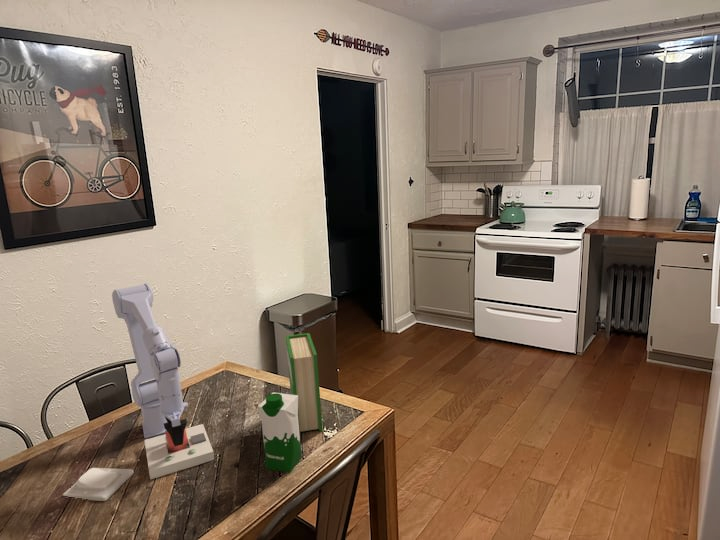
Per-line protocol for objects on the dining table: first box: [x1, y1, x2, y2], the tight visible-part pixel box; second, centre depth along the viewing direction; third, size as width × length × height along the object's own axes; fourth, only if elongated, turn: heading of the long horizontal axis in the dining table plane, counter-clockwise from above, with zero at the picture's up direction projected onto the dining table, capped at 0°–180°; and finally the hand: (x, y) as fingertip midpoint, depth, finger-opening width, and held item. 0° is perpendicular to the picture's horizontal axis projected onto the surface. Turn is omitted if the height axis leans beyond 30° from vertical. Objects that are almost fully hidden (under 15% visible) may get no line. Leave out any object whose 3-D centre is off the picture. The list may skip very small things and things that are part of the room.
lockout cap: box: [164, 427, 188, 452], centre depth 134 cm, size 5×5×5 cm
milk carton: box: [257, 392, 303, 474], centre depth 126 cm, size 9×9×20 cm
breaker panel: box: [144, 423, 215, 480], centre depth 134 cm, size 16×16×3 cm
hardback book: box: [285, 332, 324, 436], centre depth 147 cm, size 18×7×24 cm, turn 13°
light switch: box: [62, 467, 135, 502], centre depth 123 cm, size 11×4×13 cm
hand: (176, 437), depth 134 cm, fingers open, 7 cm apart
